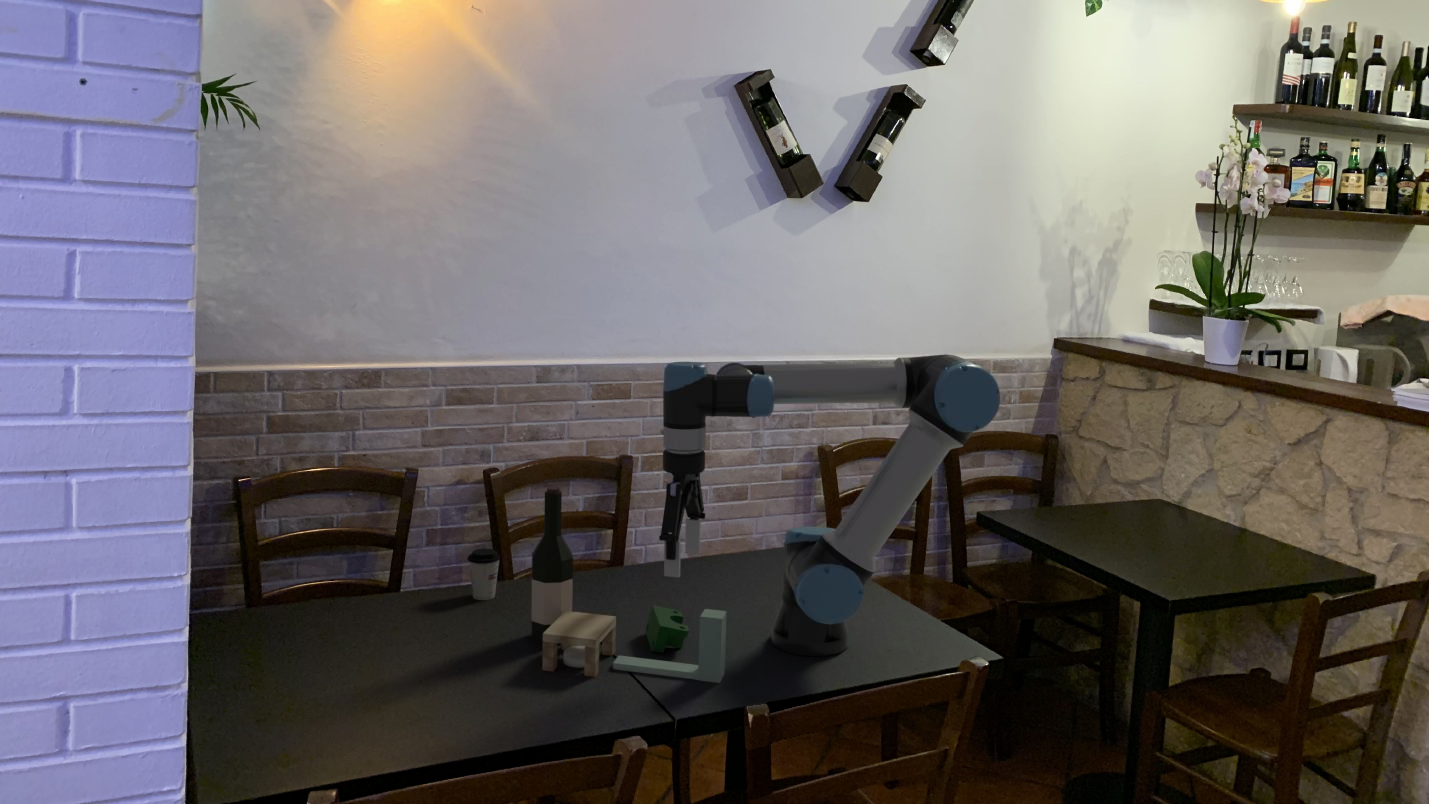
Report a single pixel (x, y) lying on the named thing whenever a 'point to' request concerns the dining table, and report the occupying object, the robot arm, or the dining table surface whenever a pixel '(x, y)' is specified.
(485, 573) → the coffee cup
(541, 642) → the wine bottle
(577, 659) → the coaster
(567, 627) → the riser
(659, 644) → the clamp
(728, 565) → the dining table surface
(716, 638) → the l-shaped bracket
